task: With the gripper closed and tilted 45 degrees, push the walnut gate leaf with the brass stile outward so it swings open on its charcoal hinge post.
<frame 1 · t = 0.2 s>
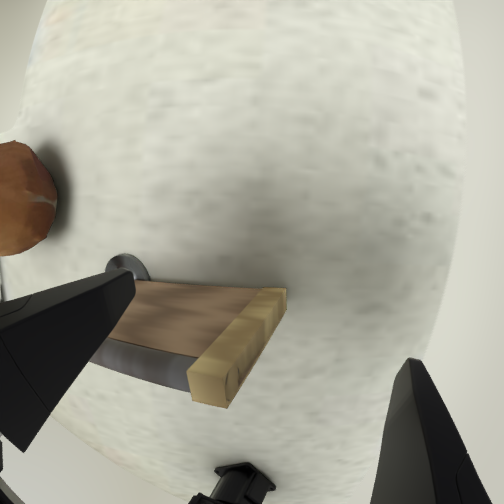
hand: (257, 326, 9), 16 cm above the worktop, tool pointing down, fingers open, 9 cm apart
hinge post: (129, 281, 30), on the worktop
butternut squash: (49, 193, 33), on the worktop
gate leaf: (159, 321, 20), point 8 cm above the worktop, hinge at 0.0°
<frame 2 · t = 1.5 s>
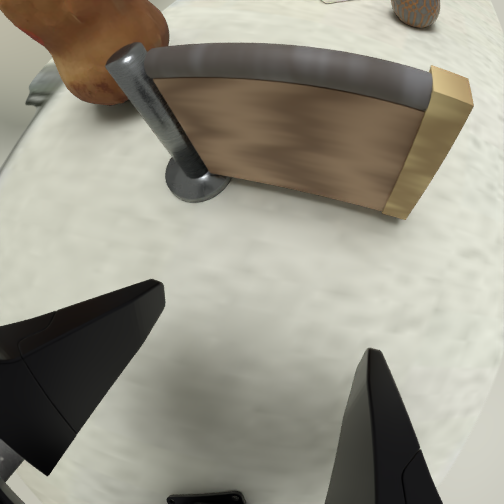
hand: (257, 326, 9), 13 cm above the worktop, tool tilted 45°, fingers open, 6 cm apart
hinge post: (200, 171, 26), on the worktop
butternut squash: (140, 87, 32), on the worktop
vase: (412, 22, 28), on the worktop
gate leaf: (303, 132, 16), point 8 cm above the worktop, hinge at 0.0°
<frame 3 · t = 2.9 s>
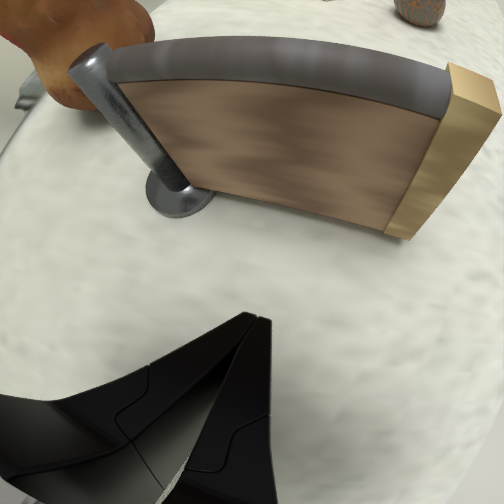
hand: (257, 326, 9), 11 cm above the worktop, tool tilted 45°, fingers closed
hinge post: (183, 183, 23), on the worktop
butternut squash: (125, 90, 30), on the worktop
vase: (416, 20, 26), on the worktop
gate leaf: (292, 142, 14), point 8 cm above the worktop, hinge at 0.0°
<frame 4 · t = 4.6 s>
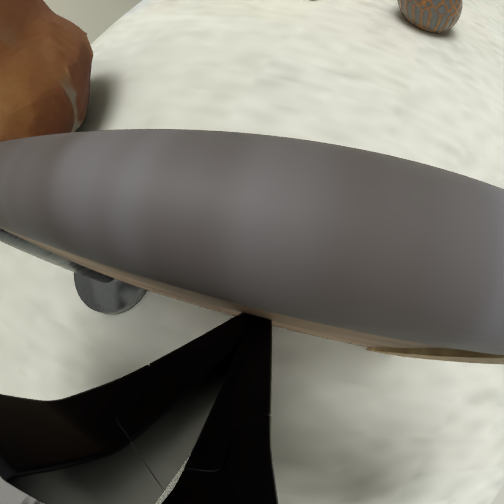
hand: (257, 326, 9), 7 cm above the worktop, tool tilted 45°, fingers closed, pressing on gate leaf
hinge post: (114, 267, 18), on the worktop
butternut squash: (70, 126, 24), on the worktop
vase: (424, 24, 21), on the worktop
gate leaf: (209, 275, 9), point 8 cm above the worktop, hinge at 3.3°, touching gripper
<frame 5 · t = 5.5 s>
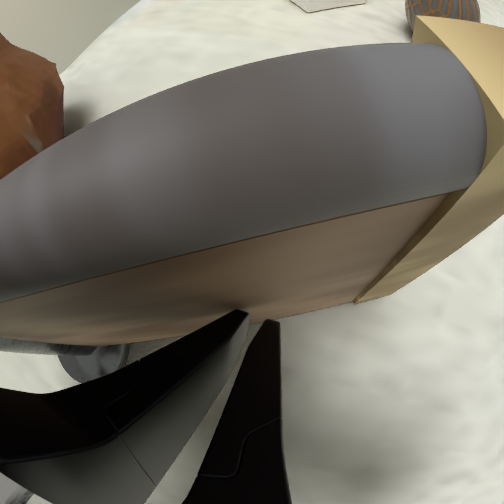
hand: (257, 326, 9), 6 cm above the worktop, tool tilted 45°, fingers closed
hinge post: (92, 337, 17), on the worktop
butternut squash: (47, 164, 23), on the worktop
vase: (436, 42, 19), on the worktop
gate leaf: (166, 292, 8), point 8 cm above the worktop, hinge at 29.5°, touching gripper
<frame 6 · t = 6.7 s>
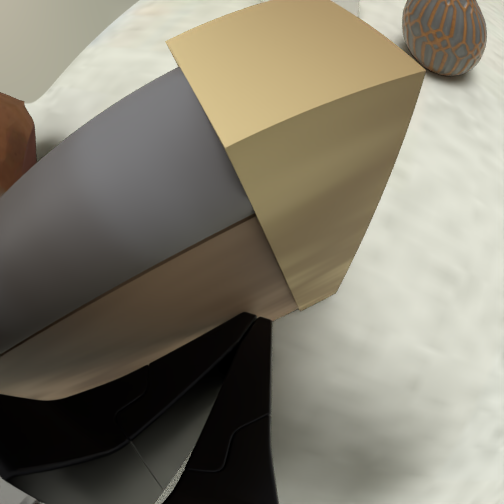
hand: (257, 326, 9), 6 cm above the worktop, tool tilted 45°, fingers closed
butternut squash: (25, 203, 22), on the worktop
medicine bottle: (309, 10, 22), on the worktop
vase: (435, 62, 18), on the worktop
gate leaf: (101, 343, 8), point 7 cm above the worktop, hinge at 43.2°, touching gripper
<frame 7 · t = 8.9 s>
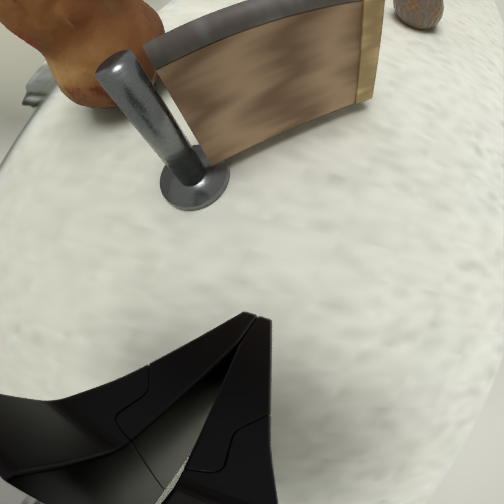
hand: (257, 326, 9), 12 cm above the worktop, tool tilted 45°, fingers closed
hinge post: (195, 178, 25), on the worktop
butternut squash: (135, 88, 31), on the worktop
vase: (414, 23, 27), on the worktop
gate leaf: (285, 66, 18), point 8 cm above the worktop, hinge at 43.3°
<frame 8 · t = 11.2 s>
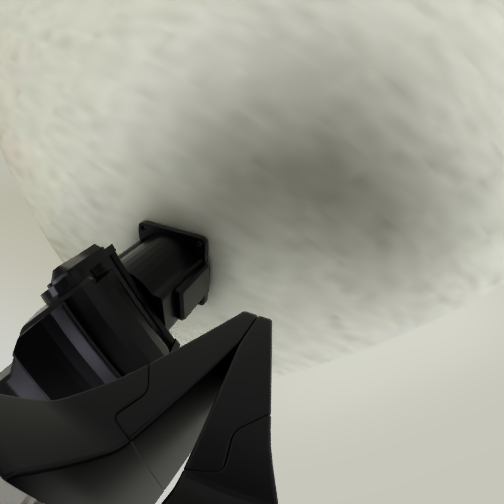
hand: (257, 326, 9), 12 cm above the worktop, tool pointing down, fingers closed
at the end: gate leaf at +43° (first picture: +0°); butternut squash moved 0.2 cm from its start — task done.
